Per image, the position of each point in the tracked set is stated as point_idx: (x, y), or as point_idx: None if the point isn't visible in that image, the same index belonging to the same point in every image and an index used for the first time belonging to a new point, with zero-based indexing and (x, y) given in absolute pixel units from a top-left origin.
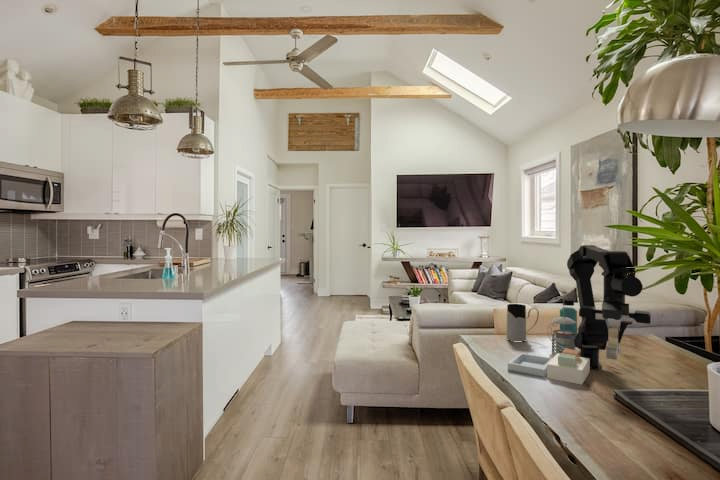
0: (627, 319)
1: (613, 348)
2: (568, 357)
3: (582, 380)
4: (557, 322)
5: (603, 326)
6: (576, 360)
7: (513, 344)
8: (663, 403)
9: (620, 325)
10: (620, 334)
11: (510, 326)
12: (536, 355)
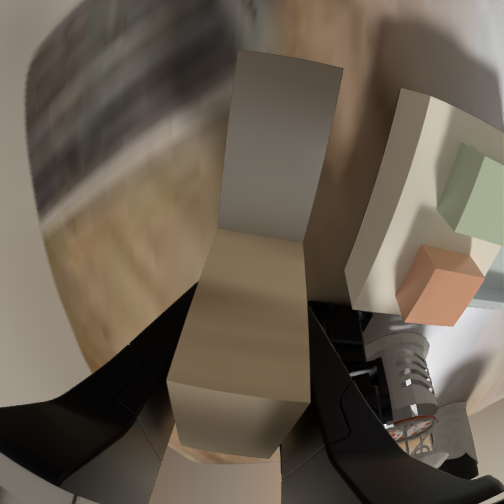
0: (16, 494)
1: (264, 92)
2: (498, 180)
3: (405, 98)
4: (443, 453)
5: (368, 432)
6: (426, 247)
7: (468, 389)
8: (105, 21)
9: (111, 438)
10: (163, 336)
11: (469, 431)
12: (494, 308)
